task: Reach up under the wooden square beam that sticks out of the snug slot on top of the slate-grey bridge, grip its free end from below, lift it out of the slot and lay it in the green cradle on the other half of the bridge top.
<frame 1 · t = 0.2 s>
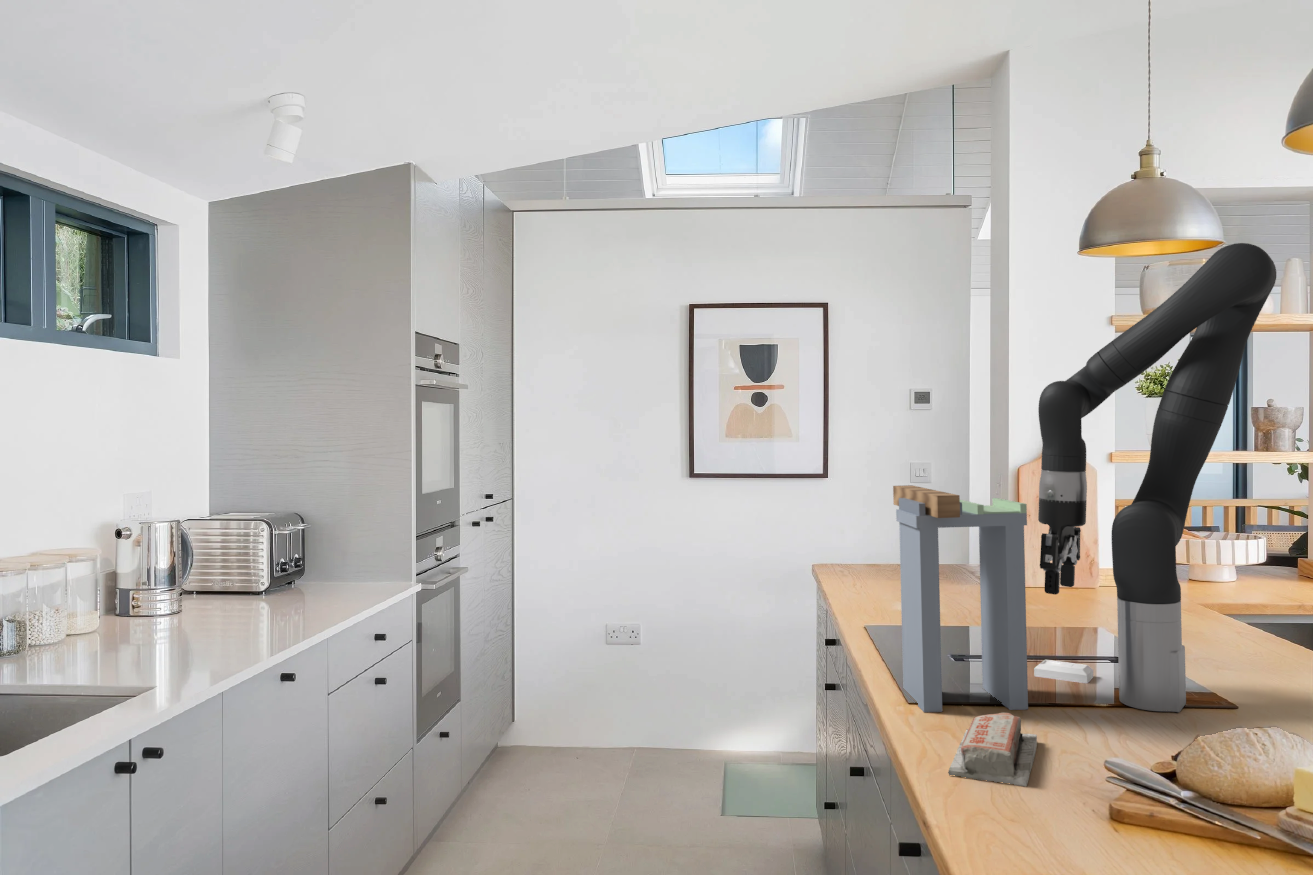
hand: (1059, 589, 156), 18 cm above the countertop, tool pointing down, fingers open, 8 cm apart
wooden square beam: (924, 510, 155), point 32 cm above the countertop, touching bridge
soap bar: (1063, 679, 165), on the countertop
packaged product: (995, 762, 126), on the countertop
bridge: (963, 699, 153), on the countertop
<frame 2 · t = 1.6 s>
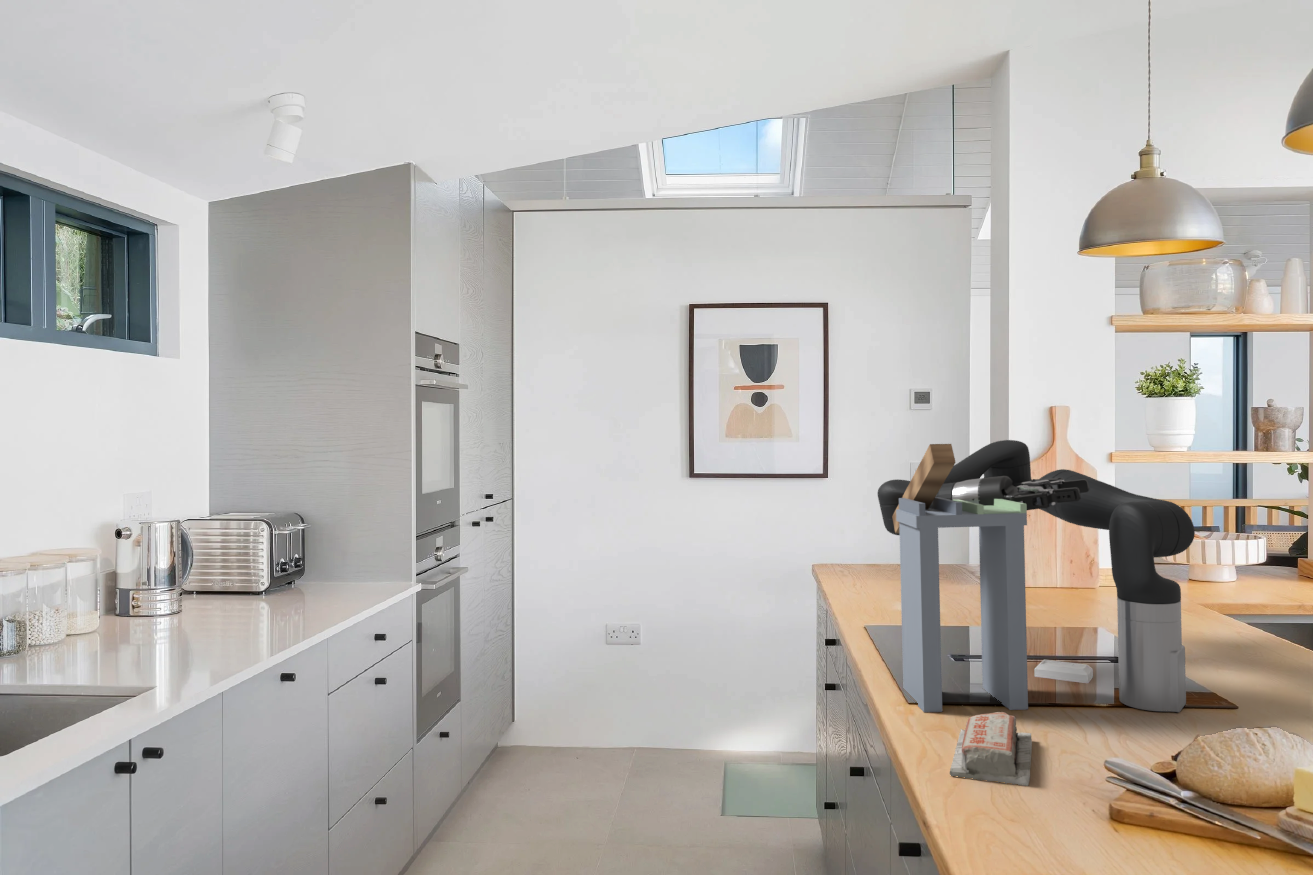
hand: (1083, 489, 152), 35 cm above the countertop, tool horizontal, fingers open, 5 cm apart
wooden square beam: (923, 500, 156), point 34 cm above the countertop, tilted 32°, touching bridge
everything else where it was.
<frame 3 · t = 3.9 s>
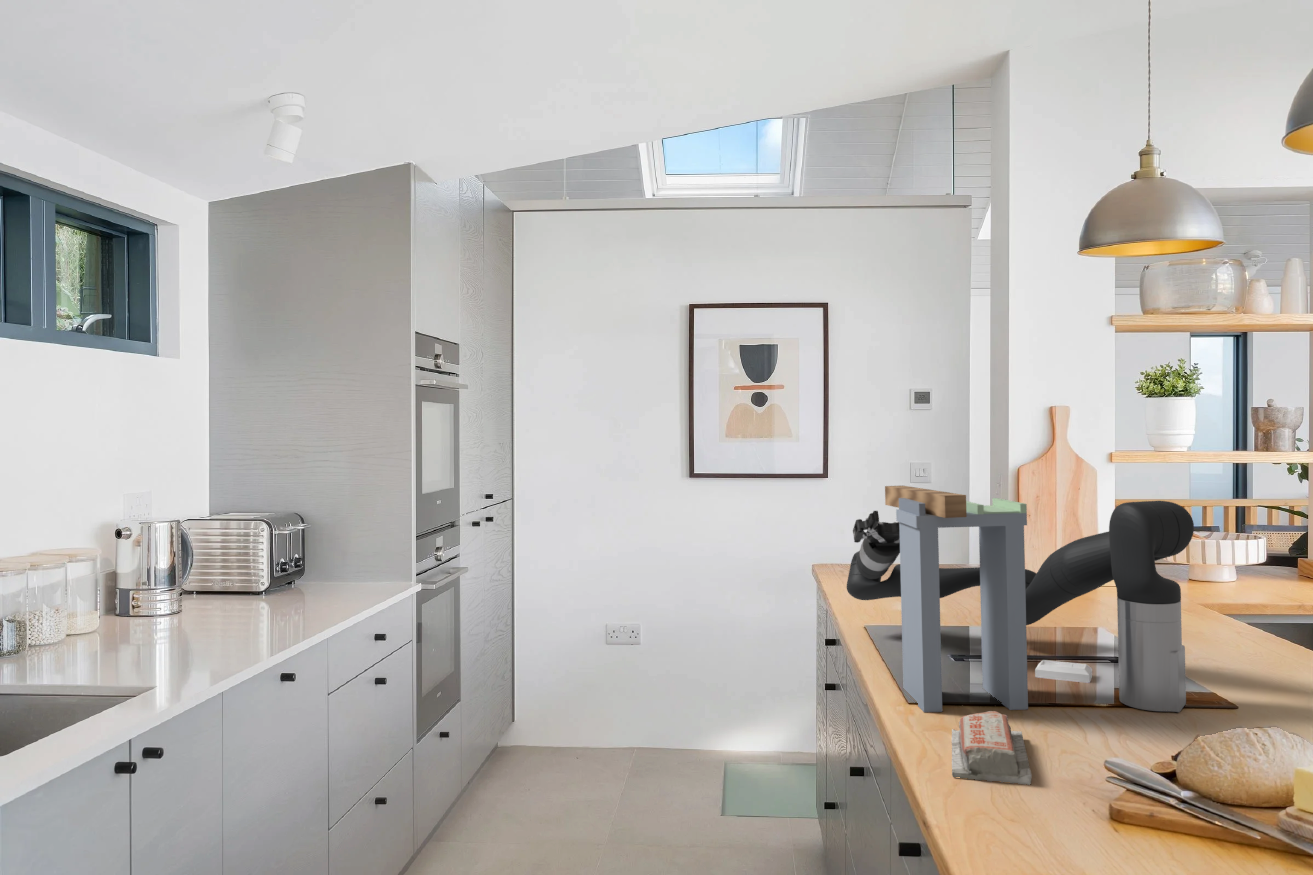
hand: (899, 514, 171), 30 cm above the countertop, tool pointing upward, fingers open, 8 cm apart
wooden square beam: (922, 510, 155), point 32 cm above the countertop, touching bridge
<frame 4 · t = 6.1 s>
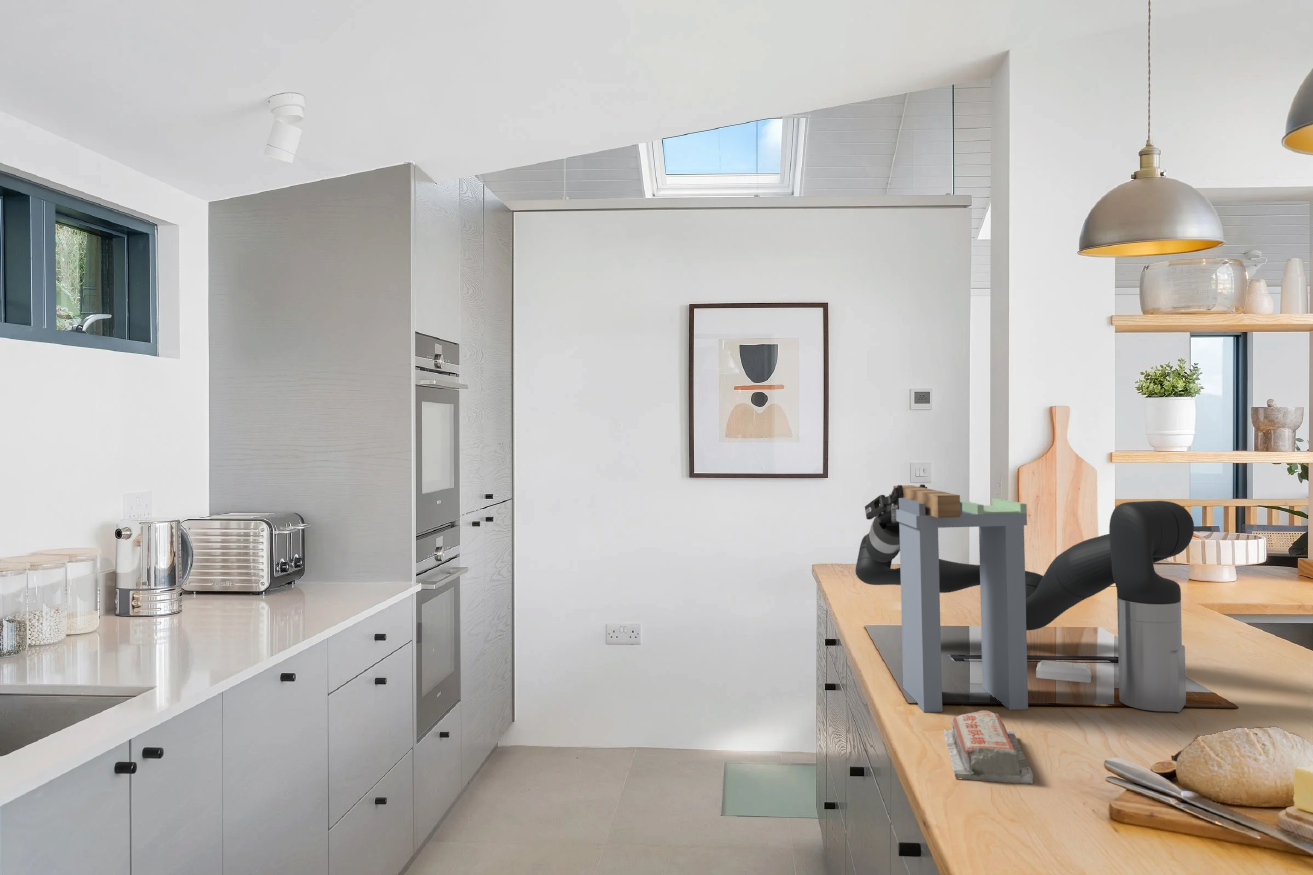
hand: (912, 489, 162), 35 cm above the countertop, tool pointing upward, fingers closed on wooden square beam, 3 cm apart
wooden square beam: (924, 510, 155), point 32 cm above the countertop, touching gripper
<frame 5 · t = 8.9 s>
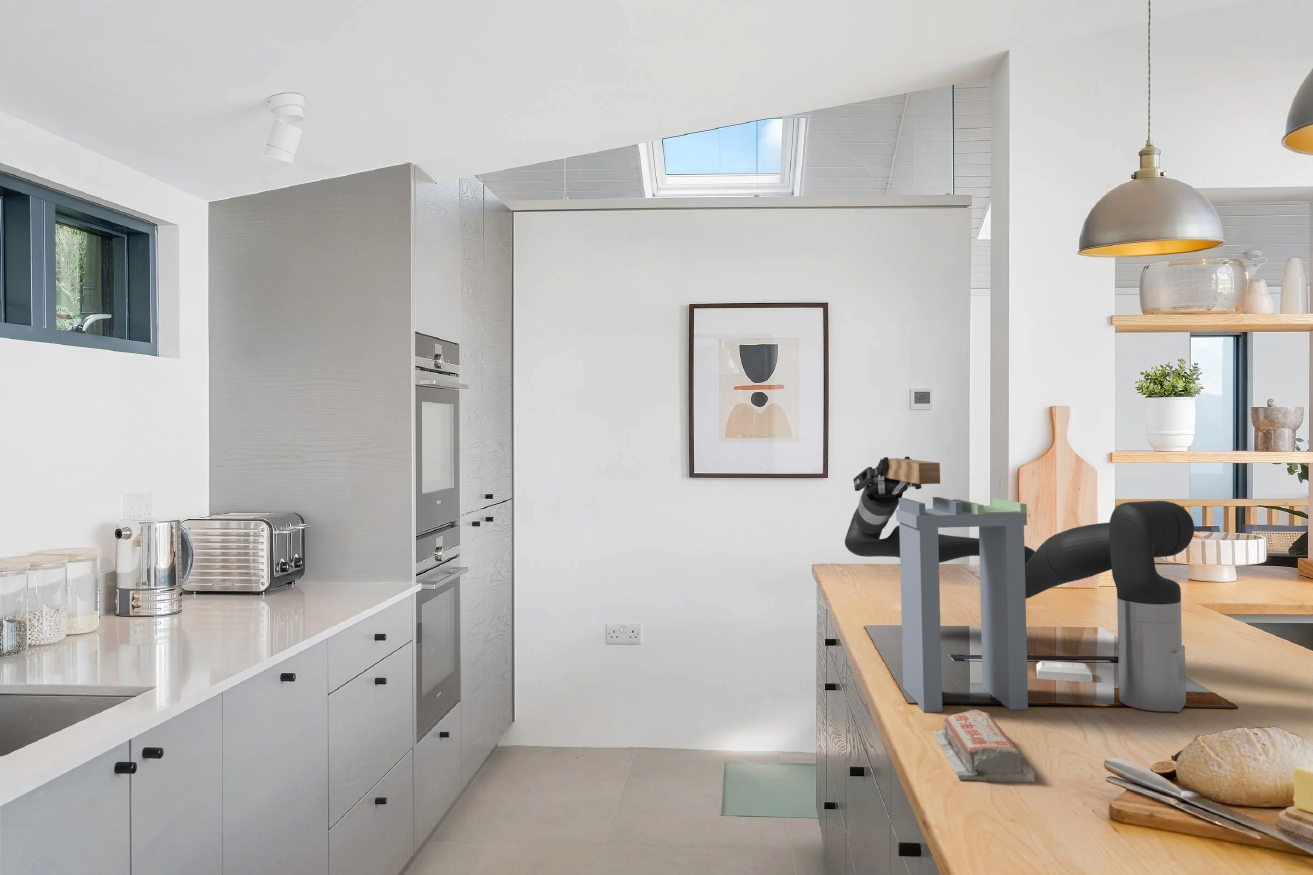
hand: (897, 461, 171), 40 cm above the countertop, tool pointing upward, fingers closed on wooden square beam, 3 cm apart
wooden square beam: (908, 479, 164), point 37 cm above the countertop, touching gripper
when the fingers open (37 cm above the countertop, at t = 11.6 s): wooden square beam drops 1 cm, resting on bridge.
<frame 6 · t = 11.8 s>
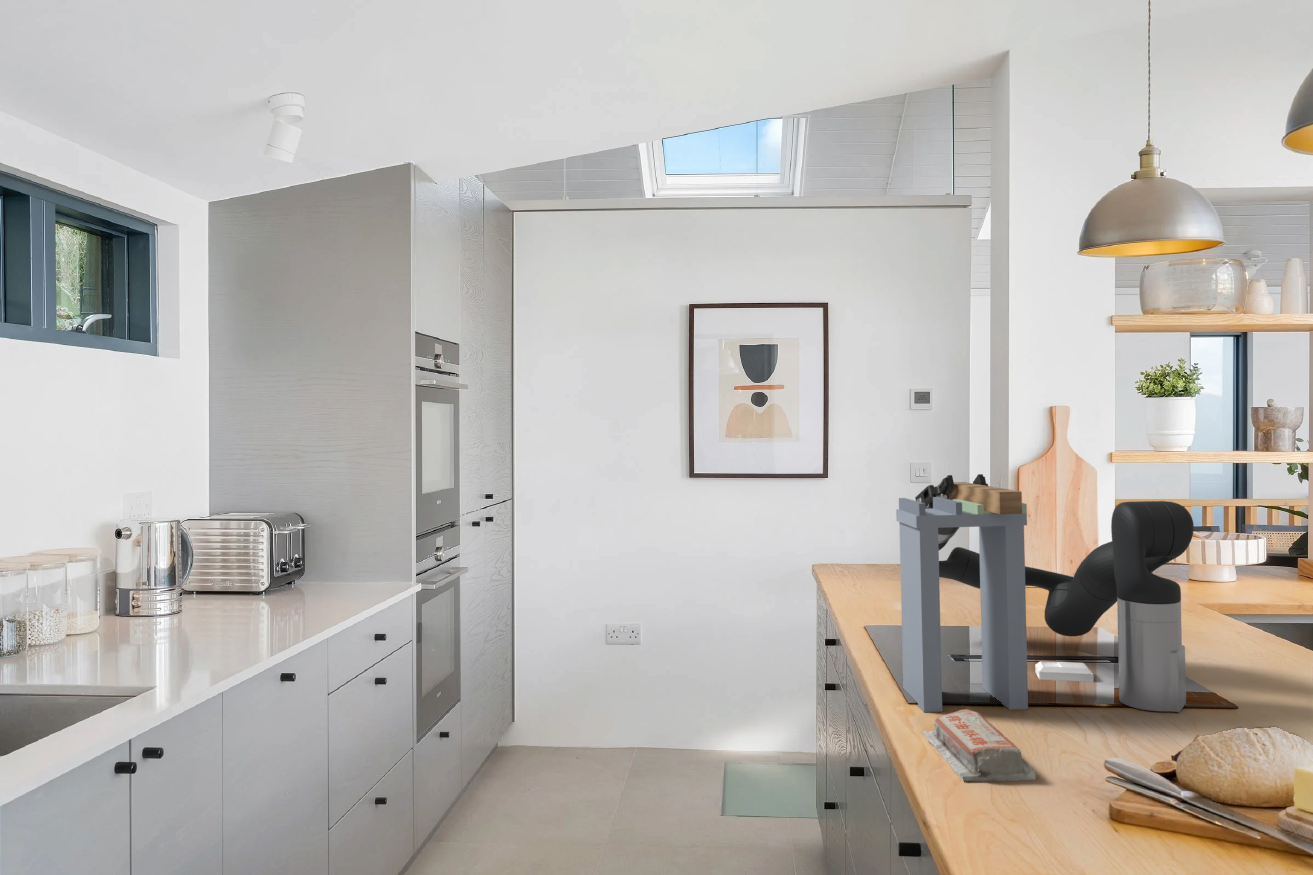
hand: (966, 479, 163), 37 cm above the countertop, tool pointing upward, fingers open, 5 cm apart
wooden square beam: (980, 506, 156), point 32 cm above the countertop, touching bridge
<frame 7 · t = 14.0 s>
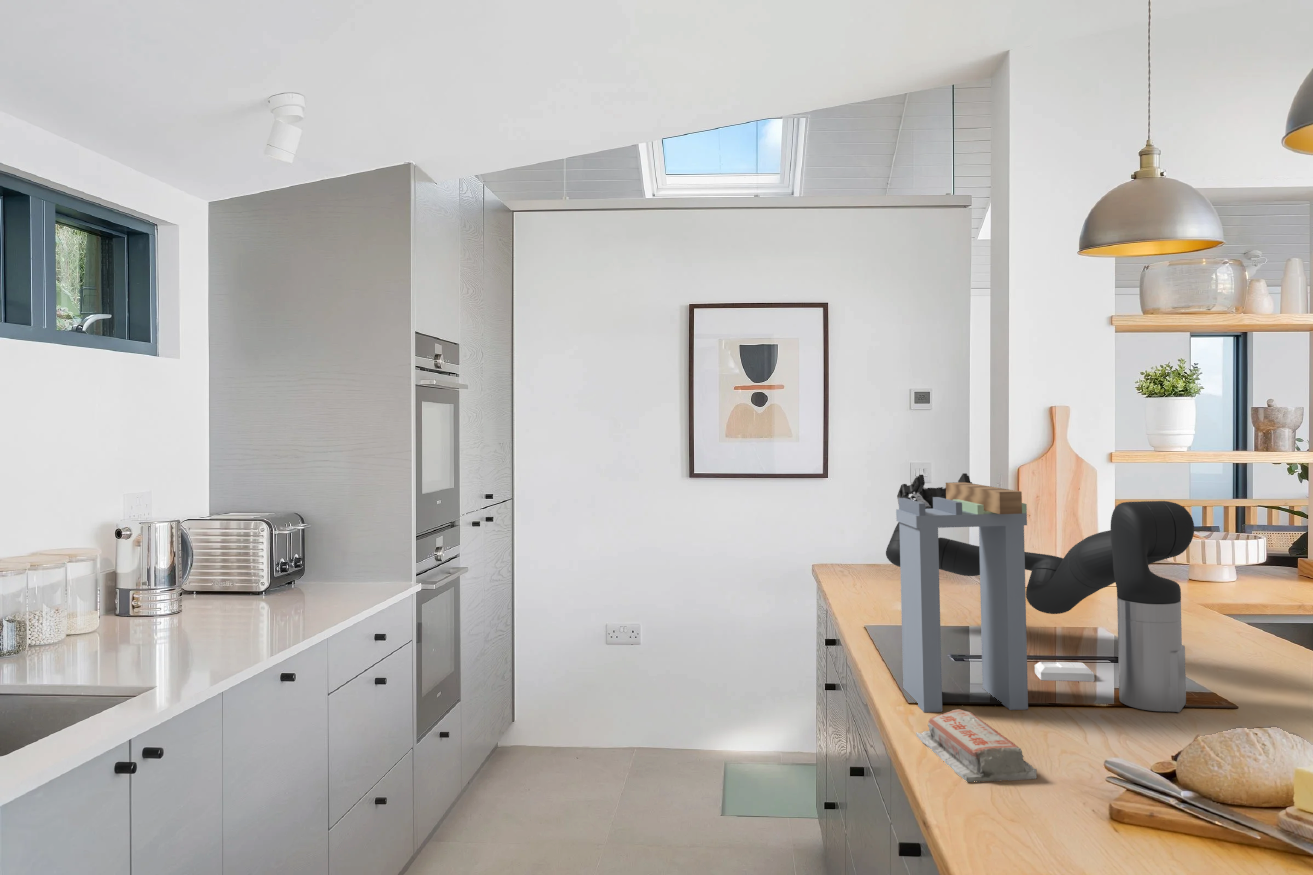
hand: (944, 478, 175), 36 cm above the countertop, tool pointing upward, fingers open, 8 cm apart
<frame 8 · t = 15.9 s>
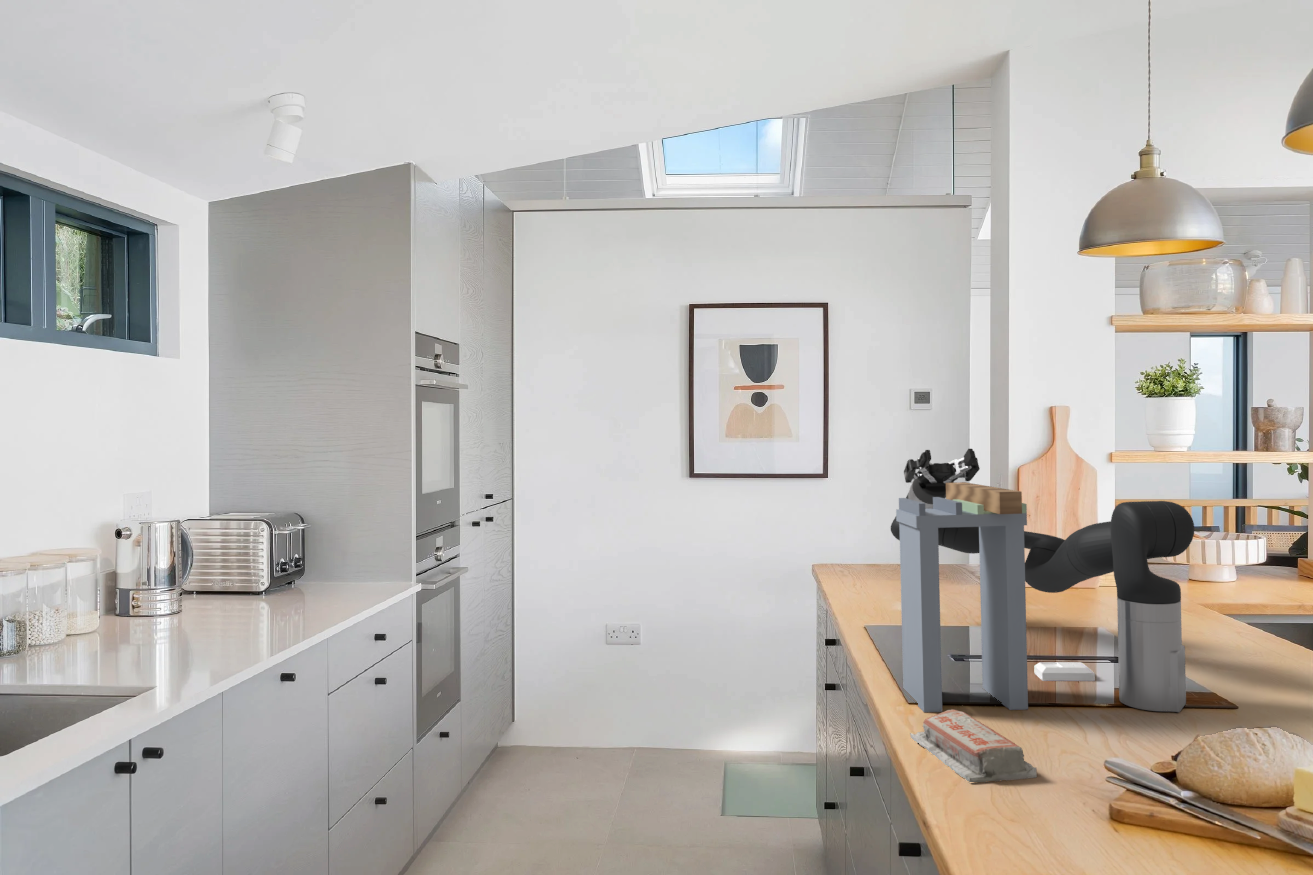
hand: (950, 453, 179), 41 cm above the countertop, tool pointing upward, fingers open, 8 cm apart
at the end: wooden square beam inside the target area on the bridge (1.0 cm from its centre), point 32.3 cm above the bridge's base; wooden square beam tilted 0°; the gripper is holding nothing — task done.
